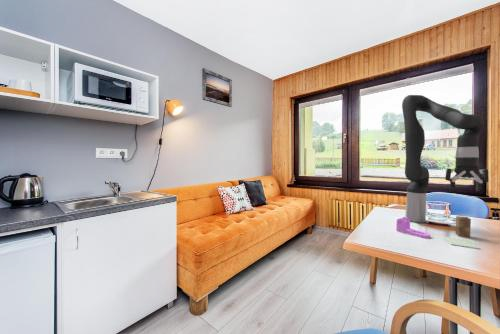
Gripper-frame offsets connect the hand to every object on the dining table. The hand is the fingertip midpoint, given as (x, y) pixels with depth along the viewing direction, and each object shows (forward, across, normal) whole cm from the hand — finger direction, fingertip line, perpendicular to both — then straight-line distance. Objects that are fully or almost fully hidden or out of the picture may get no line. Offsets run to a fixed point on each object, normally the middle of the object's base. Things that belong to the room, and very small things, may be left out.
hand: (465, 190), depth 100 cm
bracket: (+23, -20, -8) cm, 32 cm away
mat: (+22, -4, -12) cm, 26 cm away
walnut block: (+22, 0, 0) cm, 22 cm away
